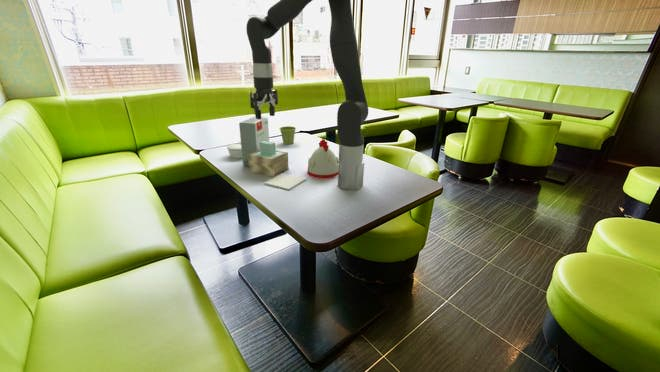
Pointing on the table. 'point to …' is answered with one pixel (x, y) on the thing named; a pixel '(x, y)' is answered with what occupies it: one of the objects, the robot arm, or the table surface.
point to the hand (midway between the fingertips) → (265, 117)
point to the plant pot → (288, 134)
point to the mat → (285, 181)
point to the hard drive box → (252, 136)
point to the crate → (268, 164)
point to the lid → (267, 150)
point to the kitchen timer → (323, 162)
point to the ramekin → (235, 150)
